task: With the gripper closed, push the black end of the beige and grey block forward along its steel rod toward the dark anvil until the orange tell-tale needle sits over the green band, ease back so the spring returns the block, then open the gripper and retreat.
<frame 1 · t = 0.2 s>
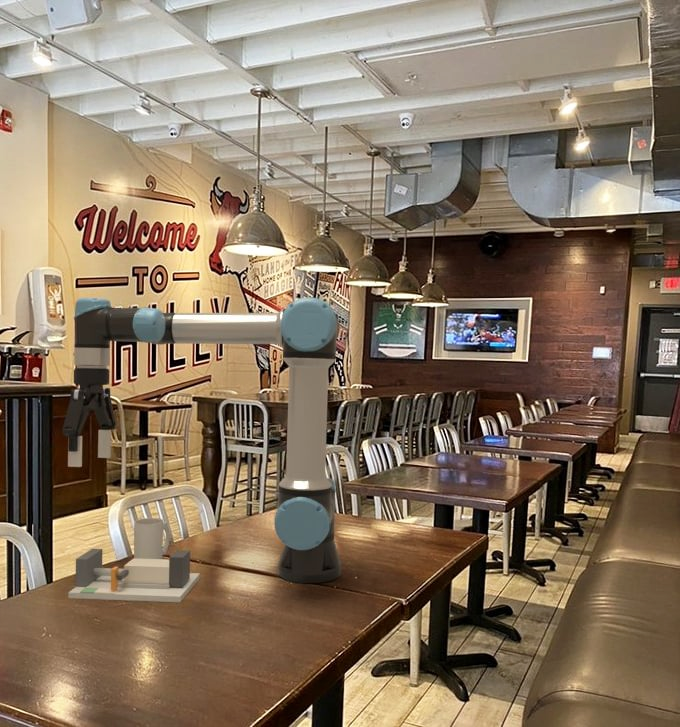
hand: (90, 462, 143), 28 cm above the table, fingers open, 13 cm apart
beige and grey block: (154, 570, 139), point 5 cm above the table, slide at 0.0 cm
needle: (114, 578, 136), point 4 cm above the table, slide at 0.0 cm
mug: (153, 570, 155), on the table
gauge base: (137, 587, 142), on the table
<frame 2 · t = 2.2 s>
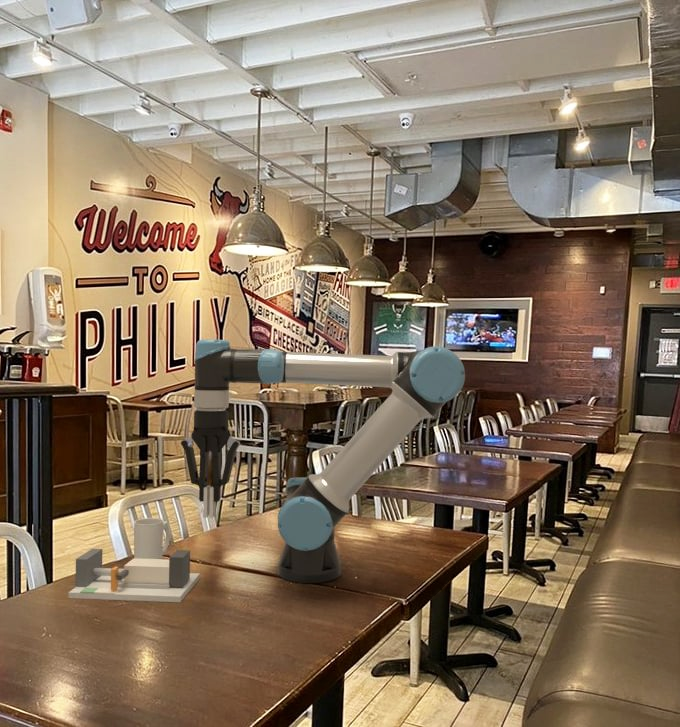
hand: (209, 516, 141), 16 cm above the table, fingers closed
nothing on the table moved.
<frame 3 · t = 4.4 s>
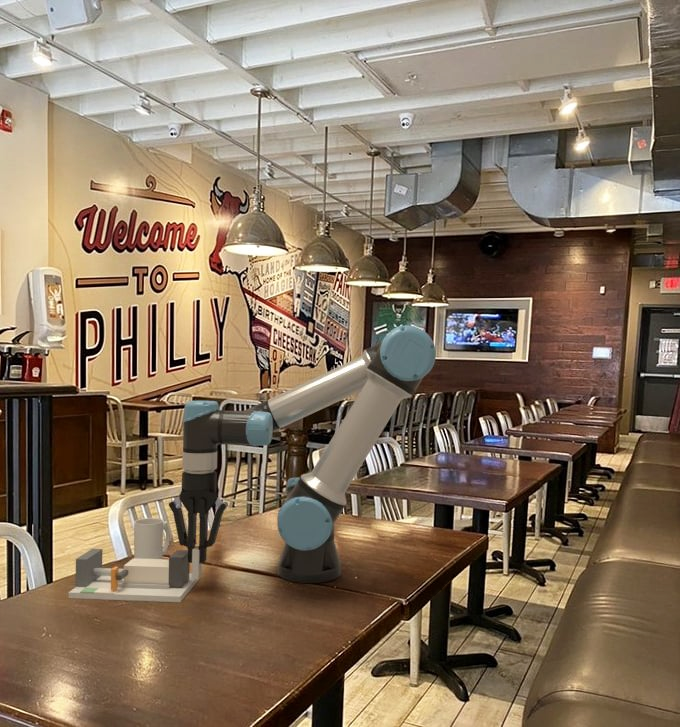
hand: (196, 577, 141), 3 cm above the table, fingers closed
beige and grey block: (154, 570, 139), point 5 cm above the table, slide at 0.1 cm, touching gripper
everything else where it was.
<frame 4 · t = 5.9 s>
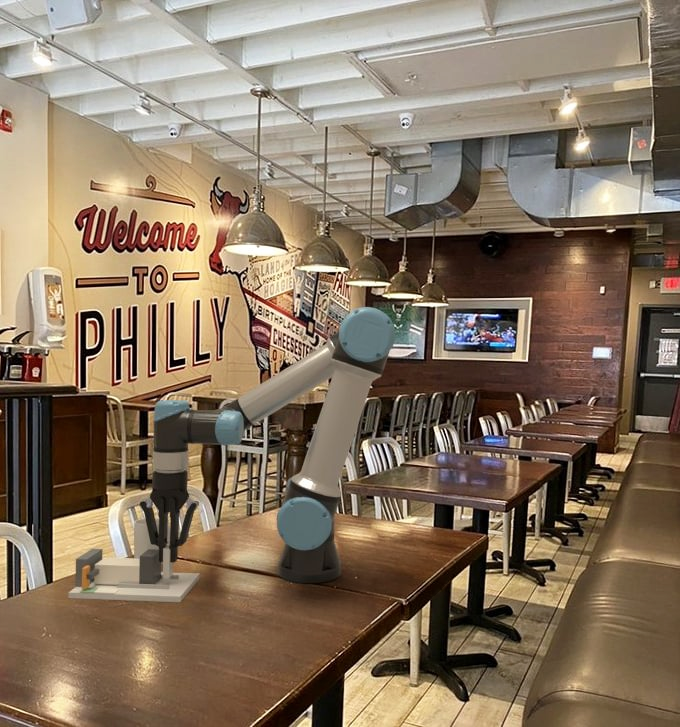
hand: (167, 576, 141), 3 cm above the table, fingers closed
beige and grey block: (125, 569, 140), point 5 cm above the table, slide at 6.6 cm, touching gripper, needle
needle: (85, 577, 136), point 4 cm above the table, slide at 6.3 cm, touching beige and grey block
everything else where it was.
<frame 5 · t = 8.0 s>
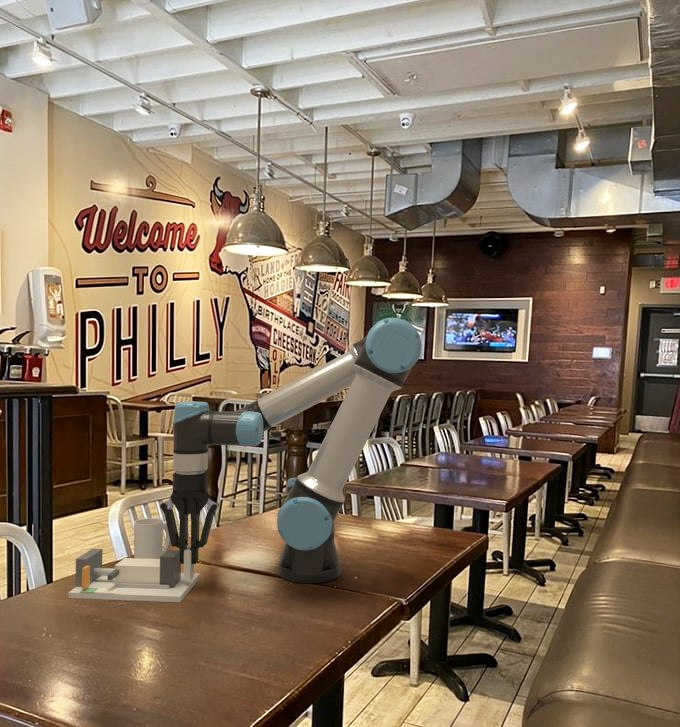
hand: (188, 578, 141), 3 cm above the table, fingers closed
beige and grey block: (145, 569, 140), point 5 cm above the table, slide at 2.1 cm, touching gripper
needle: (85, 577, 136), point 4 cm above the table, slide at 6.3 cm
everything else where it was.
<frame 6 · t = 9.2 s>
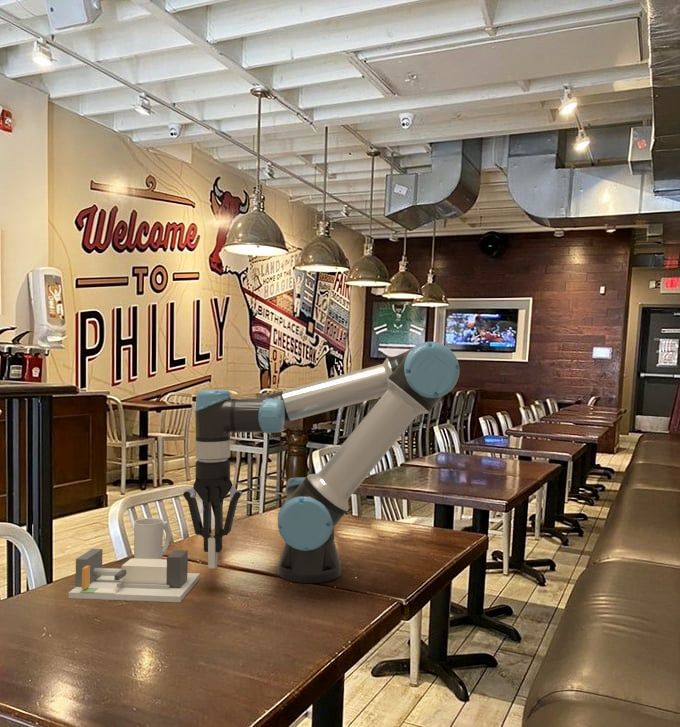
hand: (213, 566, 141), 5 cm above the table, fingers closed
beige and grey block: (152, 570, 140), point 5 cm above the table, slide at 0.5 cm
everything else where it was.
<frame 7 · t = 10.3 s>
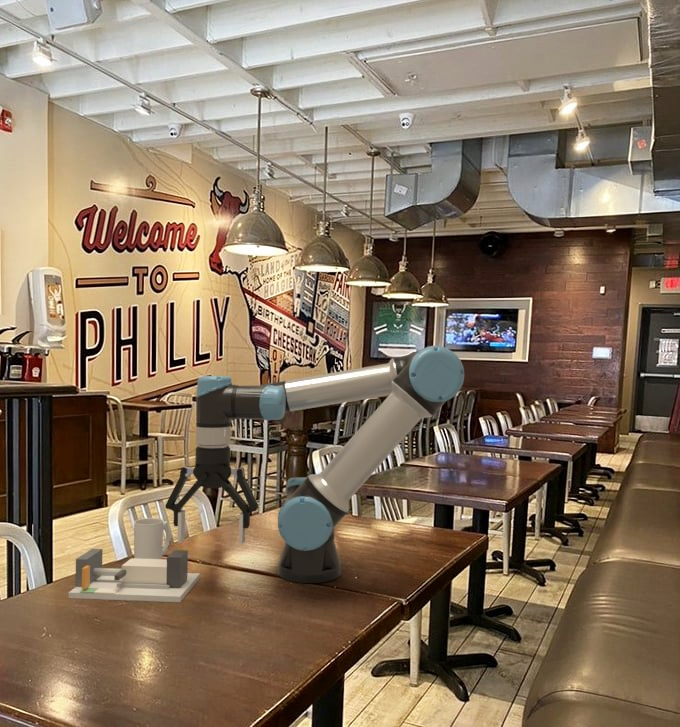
hand: (211, 542, 141), 11 cm above the table, fingers open, 13 cm apart
nothing on the table moved.
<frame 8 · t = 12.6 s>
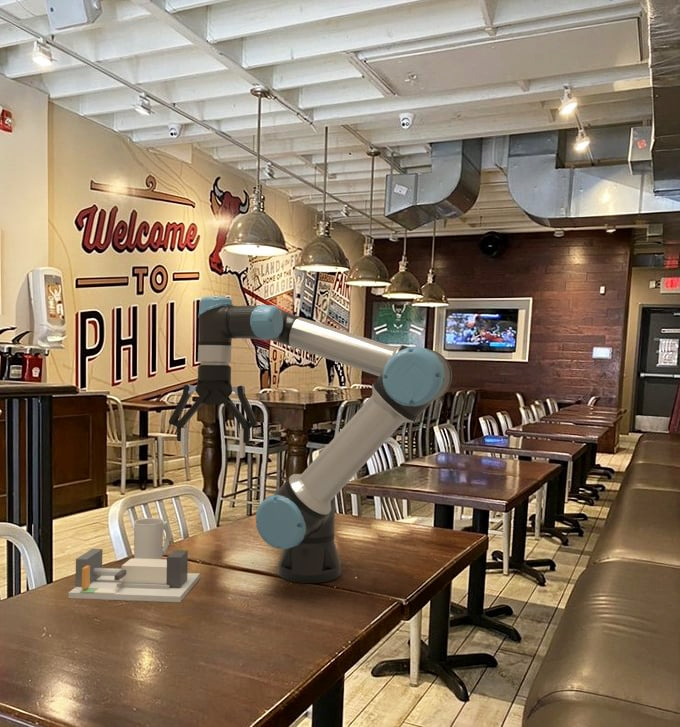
hand: (213, 456, 147), 29 cm above the table, fingers open, 13 cm apart
nothing on the table moved.
at the end: needle slide at 6.3 cm; beige and grey block slide at 0.5 cm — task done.
